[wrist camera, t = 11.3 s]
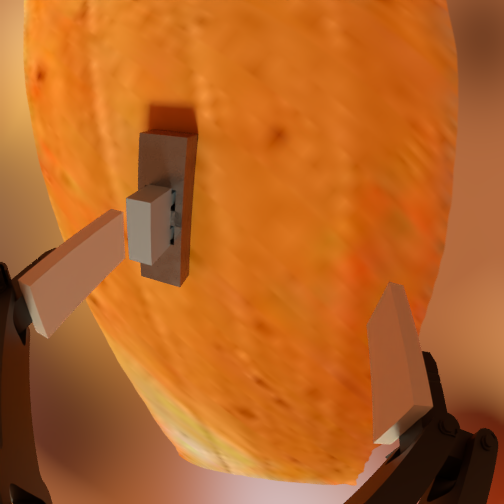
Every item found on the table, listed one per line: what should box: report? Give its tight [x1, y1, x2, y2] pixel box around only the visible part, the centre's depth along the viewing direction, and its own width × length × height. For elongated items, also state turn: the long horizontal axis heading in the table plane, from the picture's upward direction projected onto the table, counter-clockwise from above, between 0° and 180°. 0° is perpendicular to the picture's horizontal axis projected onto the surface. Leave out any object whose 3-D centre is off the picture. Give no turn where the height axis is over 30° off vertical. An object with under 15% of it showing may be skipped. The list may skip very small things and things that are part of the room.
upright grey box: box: [126, 184, 176, 266], centre depth 46 cm, size 10×4×10 cm, turn 172°
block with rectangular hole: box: [138, 130, 198, 287], centre depth 49 cm, size 26×8×4 cm, turn 172°
